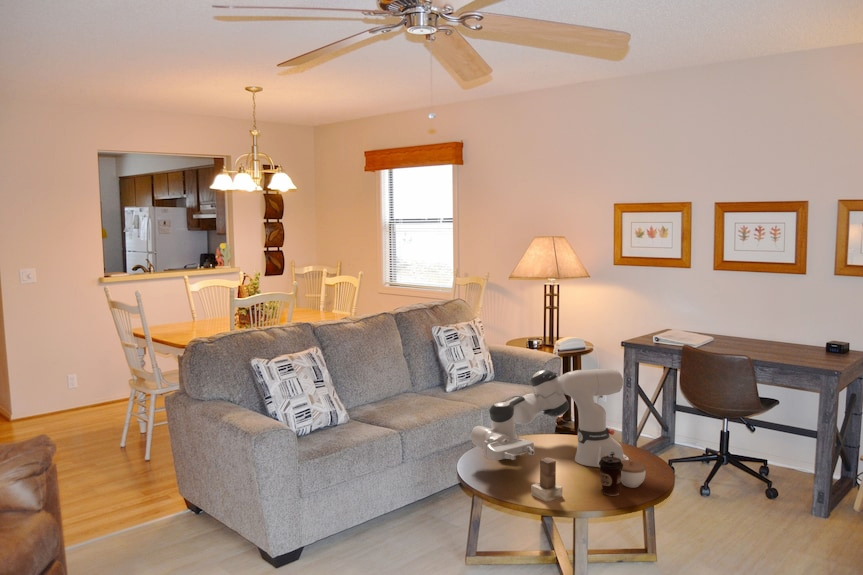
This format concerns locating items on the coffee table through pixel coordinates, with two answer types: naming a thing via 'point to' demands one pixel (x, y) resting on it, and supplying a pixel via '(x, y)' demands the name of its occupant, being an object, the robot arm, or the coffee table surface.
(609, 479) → the coffee cup
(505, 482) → the coffee table surface
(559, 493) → the birch plinth
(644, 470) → the lidded jar
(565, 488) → the coffee table surface
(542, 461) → the walnut pillar
